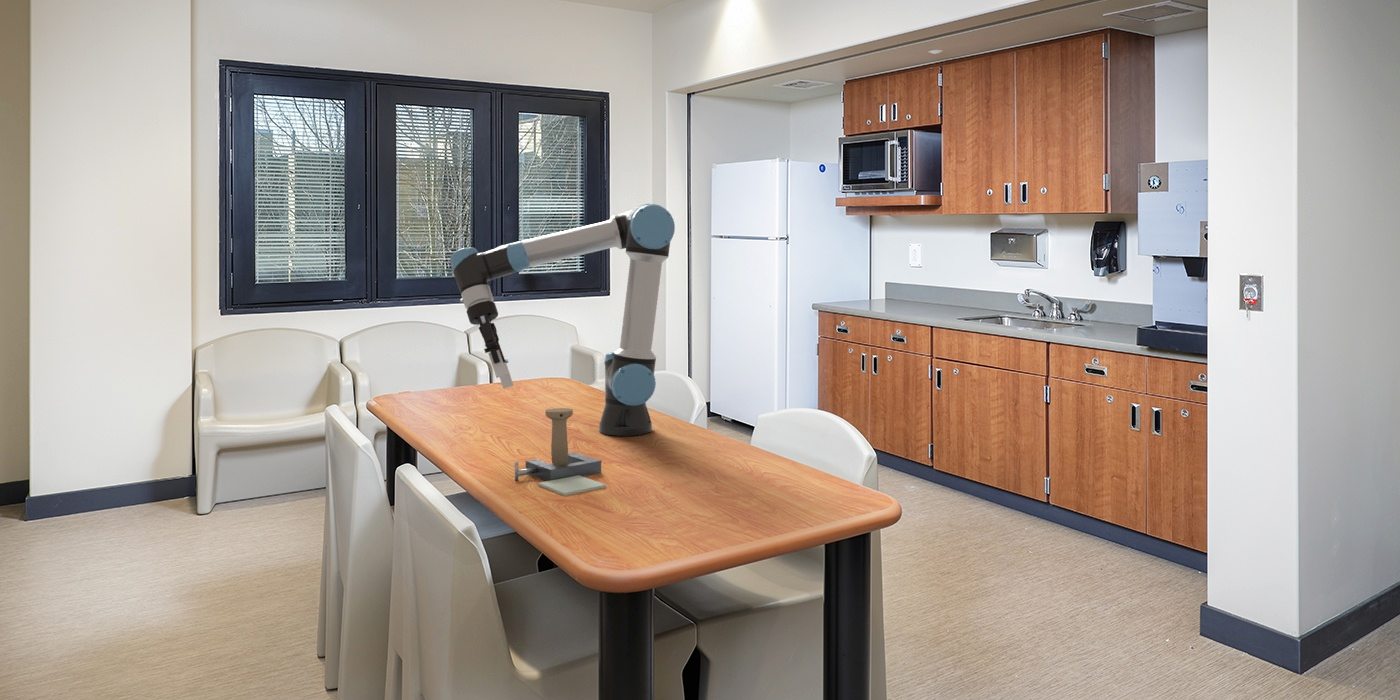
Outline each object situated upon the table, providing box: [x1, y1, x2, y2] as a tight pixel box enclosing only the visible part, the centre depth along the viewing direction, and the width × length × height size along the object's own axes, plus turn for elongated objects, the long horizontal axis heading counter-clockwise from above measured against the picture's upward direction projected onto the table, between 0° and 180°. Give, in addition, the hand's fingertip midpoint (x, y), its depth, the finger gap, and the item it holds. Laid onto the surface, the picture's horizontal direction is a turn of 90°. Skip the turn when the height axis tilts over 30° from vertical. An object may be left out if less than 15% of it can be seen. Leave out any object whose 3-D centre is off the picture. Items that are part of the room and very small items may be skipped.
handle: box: [545, 407, 574, 466], centre depth 230 cm, size 5×6×15 cm
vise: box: [514, 452, 602, 482], centre depth 228 cm, size 19×11×4 cm, turn 130°
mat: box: [537, 475, 607, 497], centre depth 218 cm, size 11×11×1 cm
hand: (505, 381), depth 244 cm, fingers open, 13 cm apart
